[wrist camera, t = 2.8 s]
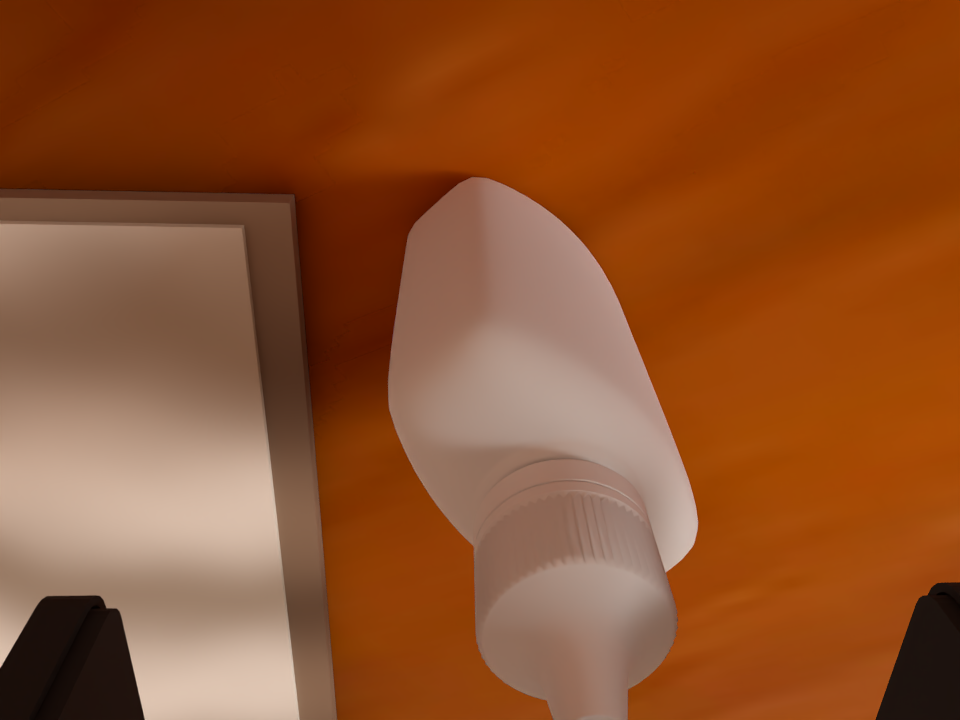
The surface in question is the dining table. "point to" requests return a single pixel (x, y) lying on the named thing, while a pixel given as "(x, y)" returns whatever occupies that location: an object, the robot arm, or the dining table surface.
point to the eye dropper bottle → (540, 447)
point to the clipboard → (166, 442)
